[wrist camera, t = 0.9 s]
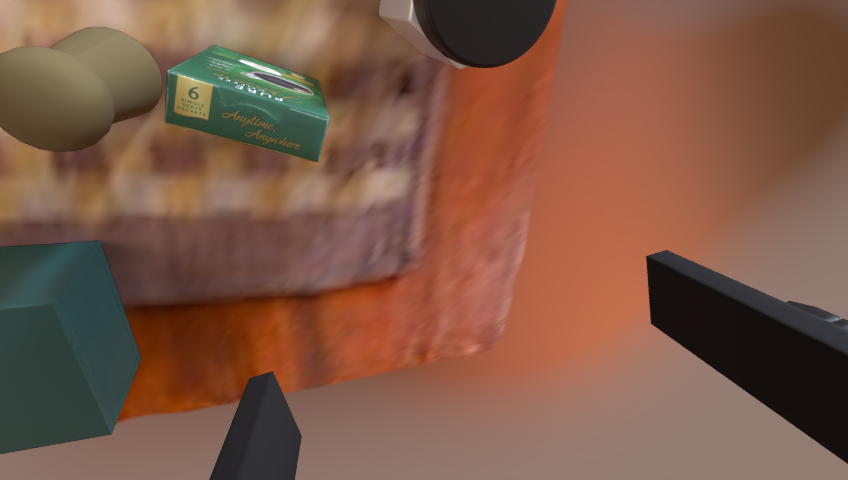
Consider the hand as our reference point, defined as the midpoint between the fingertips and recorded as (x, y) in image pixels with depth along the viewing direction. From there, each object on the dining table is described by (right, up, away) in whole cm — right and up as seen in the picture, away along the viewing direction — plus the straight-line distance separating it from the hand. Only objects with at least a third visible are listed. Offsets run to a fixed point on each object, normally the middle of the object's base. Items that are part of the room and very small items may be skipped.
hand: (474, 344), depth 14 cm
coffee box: (-14, +16, +18) cm, 28 cm away
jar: (-1, +23, +18) cm, 30 cm away
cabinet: (-37, -3, +21) cm, 43 cm away
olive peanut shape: (-24, +15, +15) cm, 32 cm away
